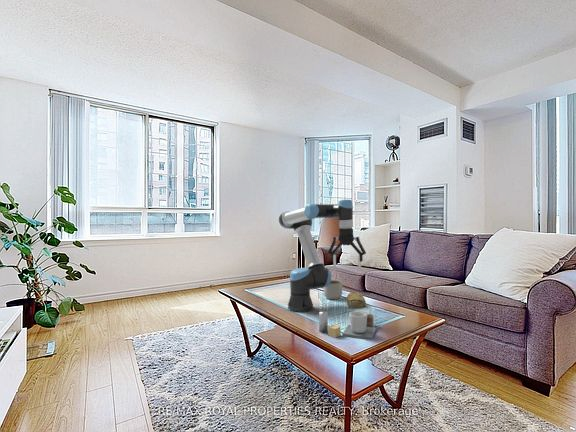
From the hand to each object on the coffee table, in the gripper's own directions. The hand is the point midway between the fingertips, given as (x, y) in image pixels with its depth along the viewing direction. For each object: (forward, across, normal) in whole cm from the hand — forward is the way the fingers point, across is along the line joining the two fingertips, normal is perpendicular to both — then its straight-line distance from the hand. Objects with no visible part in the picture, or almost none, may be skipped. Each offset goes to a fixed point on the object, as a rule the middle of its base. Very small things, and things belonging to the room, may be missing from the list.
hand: (346, 267), depth 163 cm
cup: (+26, +9, -22) cm, 35 cm away
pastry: (+27, 0, +23) cm, 35 cm away
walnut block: (+27, +12, -11) cm, 31 cm away
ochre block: (+27, 0, -29) cm, 39 cm away
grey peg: (+27, -6, -26) cm, 38 cm away
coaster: (+26, +10, -22) cm, 36 cm away
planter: (+27, -18, +36) cm, 49 cm away
